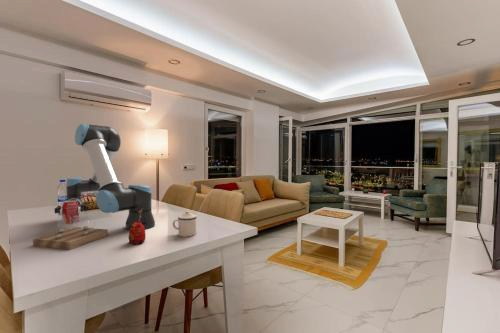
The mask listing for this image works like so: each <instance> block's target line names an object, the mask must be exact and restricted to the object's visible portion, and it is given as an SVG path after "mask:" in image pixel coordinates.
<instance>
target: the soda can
mask: <svg viewBox="0 0 500 333" xmlns="http://www.w3.org/2000/svg"><path fill="white" fill-rule="evenodd" d="M61 206H62V209H63V214H62V215H61V216H62V218H61V219H62V224H64V226H65V225H66V226H69V225H71V226H72V225H76V224H77V223H79V221H80V220H79V218H80V214H78V207H79V206H78V203H77V200H69V201H67V200H65V201H63V203H62V205H61Z"/></svg>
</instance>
